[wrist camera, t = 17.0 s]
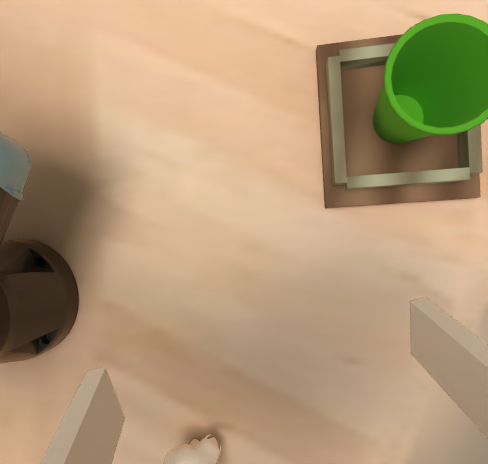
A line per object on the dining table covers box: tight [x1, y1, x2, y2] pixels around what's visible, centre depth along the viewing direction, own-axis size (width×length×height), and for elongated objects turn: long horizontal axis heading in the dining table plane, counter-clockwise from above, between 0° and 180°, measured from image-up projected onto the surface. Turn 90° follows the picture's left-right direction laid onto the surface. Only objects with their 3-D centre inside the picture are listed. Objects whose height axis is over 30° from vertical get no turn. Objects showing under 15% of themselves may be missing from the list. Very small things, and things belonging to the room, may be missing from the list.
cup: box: [373, 14, 488, 143], centre depth 30 cm, size 9×9×11 cm
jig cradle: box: [316, 34, 483, 208], centre depth 35 cm, size 16×18×3 cm
